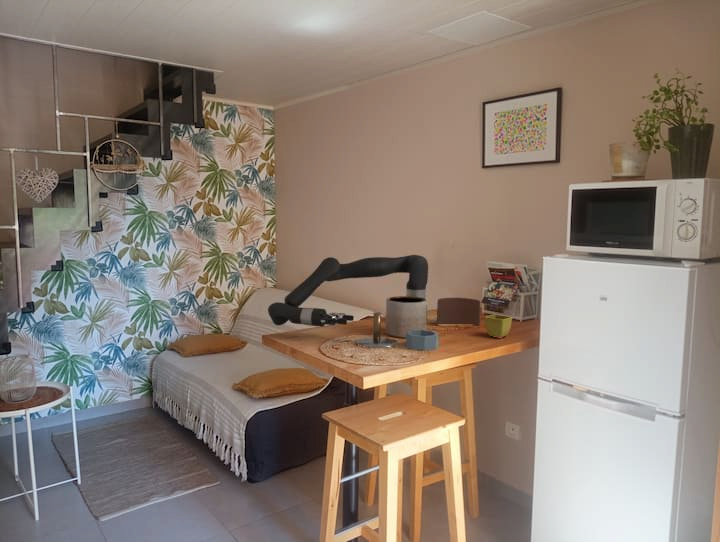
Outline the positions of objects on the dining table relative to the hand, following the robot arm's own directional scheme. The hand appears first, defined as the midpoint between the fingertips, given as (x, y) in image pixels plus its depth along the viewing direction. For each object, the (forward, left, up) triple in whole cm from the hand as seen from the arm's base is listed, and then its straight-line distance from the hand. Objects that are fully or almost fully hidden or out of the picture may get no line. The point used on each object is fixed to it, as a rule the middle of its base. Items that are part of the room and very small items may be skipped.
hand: (350, 320), depth 225 cm
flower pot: (-63, +15, -9) cm, 65 cm away
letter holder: (-61, -13, -9) cm, 63 cm away
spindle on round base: (-9, +7, -9) cm, 15 cm away
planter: (-28, -4, -9) cm, 30 cm away
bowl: (-24, +18, -9) cm, 31 cm away
